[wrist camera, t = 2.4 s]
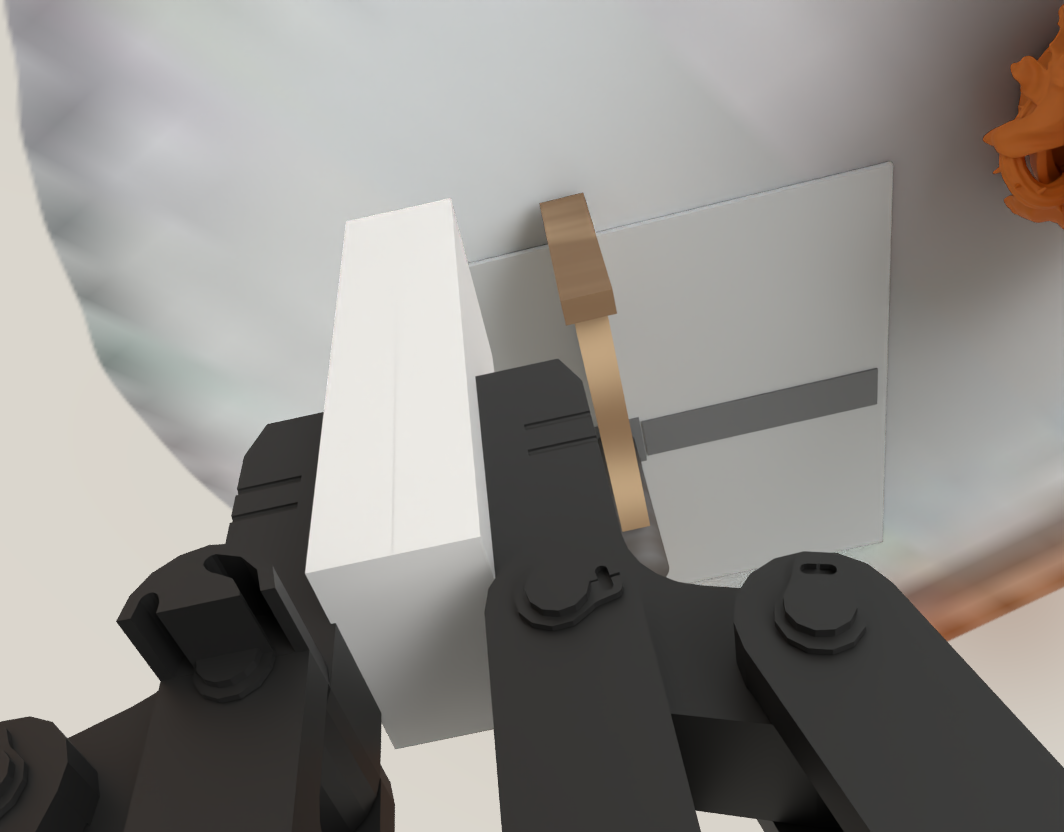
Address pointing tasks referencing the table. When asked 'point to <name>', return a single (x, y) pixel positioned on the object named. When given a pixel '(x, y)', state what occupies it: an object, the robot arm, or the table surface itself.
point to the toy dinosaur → (1036, 137)
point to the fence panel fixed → (645, 539)
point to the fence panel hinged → (595, 343)
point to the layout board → (737, 364)
